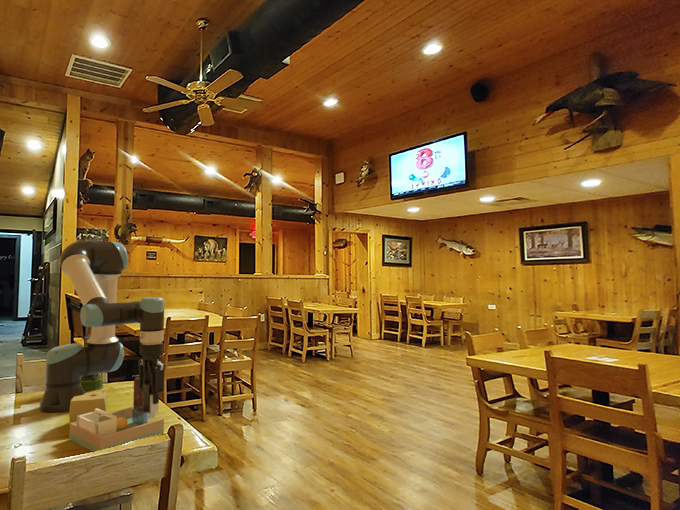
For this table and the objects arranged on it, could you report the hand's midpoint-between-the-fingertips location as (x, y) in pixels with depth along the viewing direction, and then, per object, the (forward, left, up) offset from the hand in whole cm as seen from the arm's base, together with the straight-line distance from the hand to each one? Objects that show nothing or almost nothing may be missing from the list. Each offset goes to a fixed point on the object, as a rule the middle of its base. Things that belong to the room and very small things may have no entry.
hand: (150, 411), depth 150 cm
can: (-13, +5, -5) cm, 15 cm away
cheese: (-19, -11, -5) cm, 23 cm away
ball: (0, -10, -1) cm, 10 cm away
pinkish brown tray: (0, -11, -5) cm, 12 cm away
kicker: (0, -1, -3) cm, 3 cm away
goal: (0, -18, -3) cm, 18 cm away
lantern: (-65, +10, -5) cm, 66 cm away
